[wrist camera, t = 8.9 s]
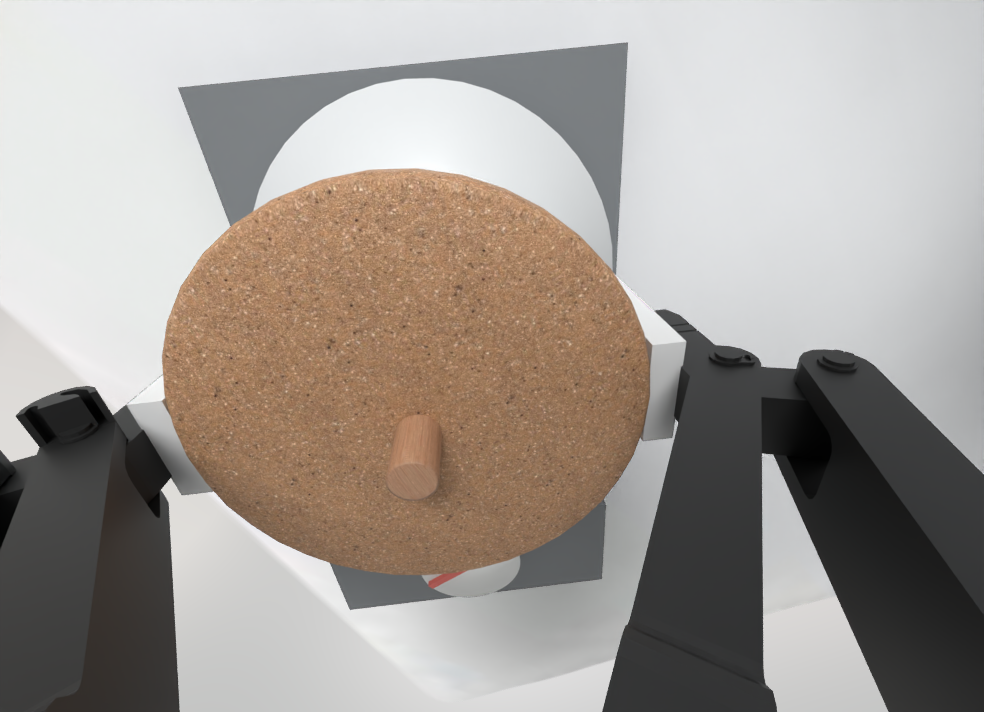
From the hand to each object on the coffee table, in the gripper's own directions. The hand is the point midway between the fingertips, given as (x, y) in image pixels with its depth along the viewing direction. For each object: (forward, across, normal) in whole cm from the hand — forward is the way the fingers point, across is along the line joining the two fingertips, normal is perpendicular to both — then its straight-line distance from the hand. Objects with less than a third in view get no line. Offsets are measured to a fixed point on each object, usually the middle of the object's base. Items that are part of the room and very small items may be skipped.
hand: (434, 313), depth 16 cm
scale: (+6, 0, -3) cm, 7 cm away
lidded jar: (+1, 0, 0) cm, 1 cm away
